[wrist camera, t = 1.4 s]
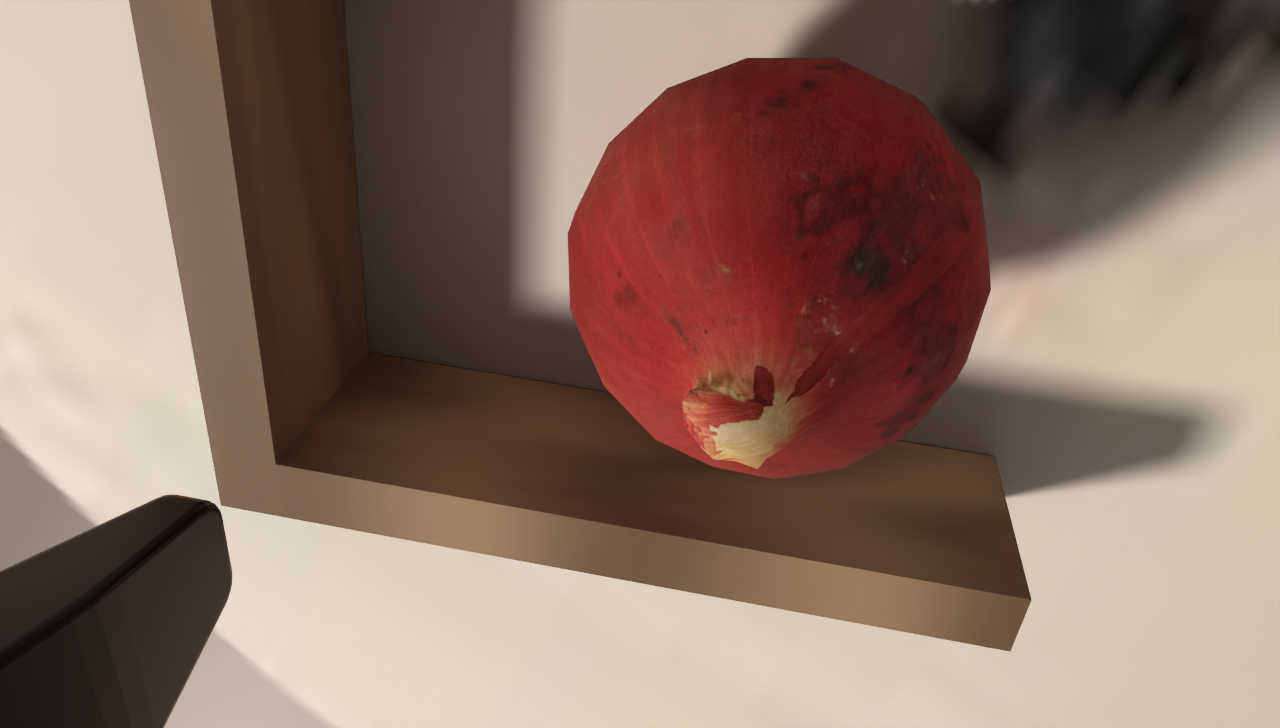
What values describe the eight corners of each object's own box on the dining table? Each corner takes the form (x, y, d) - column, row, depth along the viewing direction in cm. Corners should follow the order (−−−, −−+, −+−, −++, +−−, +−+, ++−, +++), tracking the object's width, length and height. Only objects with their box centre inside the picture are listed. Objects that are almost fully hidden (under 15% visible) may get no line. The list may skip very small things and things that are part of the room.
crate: (1221, -197, 13) (1359, -197, 10) (978, 503, 20) (1009, 650, 16) (247, -291, 15) (70, -320, 11) (319, 390, 21) (221, 505, 18)
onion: (818, -73, 15) (809, 35, 8) (1024, 204, 16) (1165, 491, 10) (557, 159, 17) (383, 389, 11) (757, 378, 19) (718, 700, 12)
